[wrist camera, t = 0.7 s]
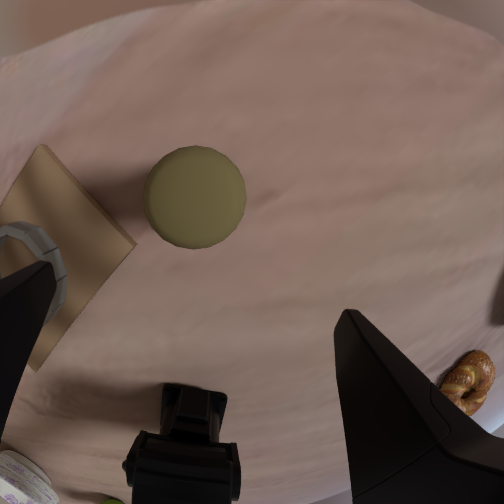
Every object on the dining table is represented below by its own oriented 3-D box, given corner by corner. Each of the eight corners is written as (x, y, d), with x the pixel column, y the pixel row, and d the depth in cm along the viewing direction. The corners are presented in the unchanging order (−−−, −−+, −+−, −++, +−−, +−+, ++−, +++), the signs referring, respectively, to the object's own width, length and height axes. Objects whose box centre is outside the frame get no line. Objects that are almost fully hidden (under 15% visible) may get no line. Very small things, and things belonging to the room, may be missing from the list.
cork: (260, 184, 24) (285, 187, 14) (214, 243, 25) (204, 289, 14) (200, 139, 23) (178, 107, 12) (155, 199, 24) (103, 214, 13)
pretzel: (448, 351, 30) (464, 366, 27) (497, 343, 31) (512, 354, 28) (416, 423, 33) (428, 439, 29) (467, 408, 34) (479, 422, 30)
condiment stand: (46, 145, 22) (24, 142, 18) (137, 244, 25) (123, 254, 21) (-29, 286, 24) (-48, 296, 20) (40, 367, 27) (25, 384, 23)
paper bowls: (19, 481, 33) (7, 506, 25) (-19, 429, 29) (-38, 455, 22) (77, 500, 34) (67, 530, 26) (39, 449, 30) (20, 483, 22)
